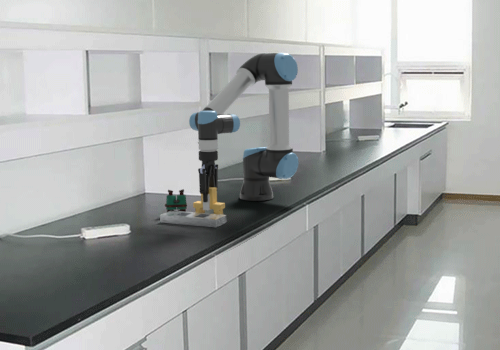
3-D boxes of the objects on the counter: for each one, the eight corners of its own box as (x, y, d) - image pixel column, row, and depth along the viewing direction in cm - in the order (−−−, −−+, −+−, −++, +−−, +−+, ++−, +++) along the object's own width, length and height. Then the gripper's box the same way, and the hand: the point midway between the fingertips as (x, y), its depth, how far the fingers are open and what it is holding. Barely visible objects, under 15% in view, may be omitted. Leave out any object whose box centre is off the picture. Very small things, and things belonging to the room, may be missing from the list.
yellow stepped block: (193, 217, 285) (192, 187, 283) (198, 215, 289) (197, 186, 287) (220, 219, 281) (220, 189, 279) (225, 217, 284) (224, 188, 282)
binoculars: (185, 187, 297) (187, 189, 287) (186, 213, 298) (188, 215, 288) (164, 188, 296) (164, 190, 286) (164, 213, 296) (165, 216, 287)
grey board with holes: (171, 217, 285) (171, 210, 285) (226, 222, 276) (226, 214, 275) (160, 222, 277) (160, 214, 276) (216, 227, 268) (216, 219, 267)
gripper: (209, 147, 290) (210, 204, 293) (189, 152, 274) (190, 212, 278) (225, 148, 287) (226, 205, 291) (207, 153, 271) (208, 213, 275)
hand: (209, 208), depth 284 cm, fingers closed on yellow stepped block, 4 cm apart
